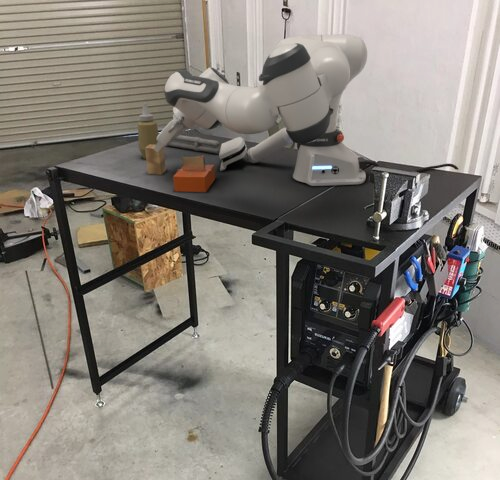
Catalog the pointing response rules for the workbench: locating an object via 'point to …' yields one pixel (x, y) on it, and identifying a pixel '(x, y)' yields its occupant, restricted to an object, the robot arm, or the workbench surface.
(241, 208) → the workbench surface
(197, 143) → the metal rod assembly
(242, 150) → the white rounded block
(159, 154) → the workpiece
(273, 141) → the bottle
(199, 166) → the tan rectangular block
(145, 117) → the squeeze bottle
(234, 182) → the workbench surface
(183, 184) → the orange box
